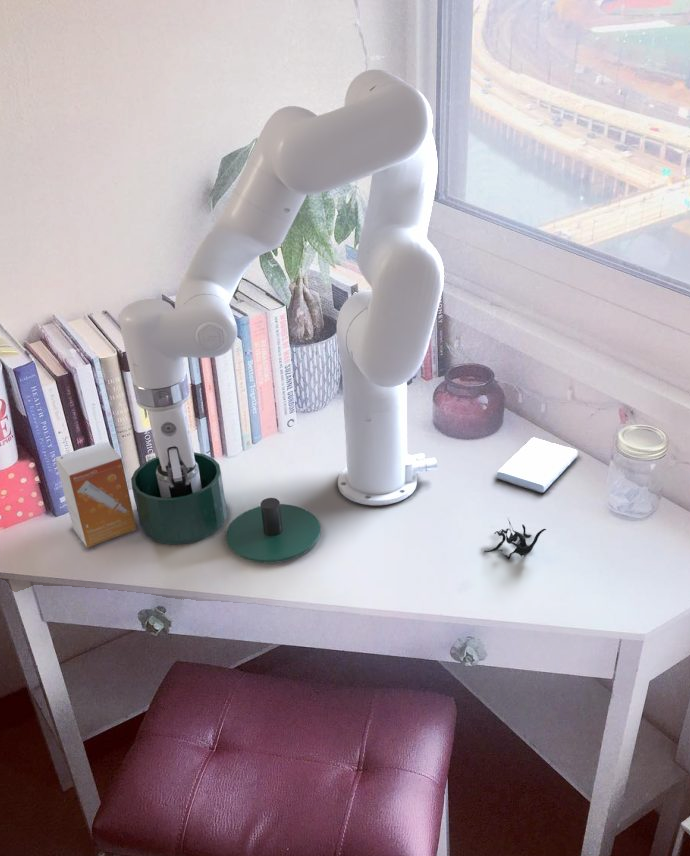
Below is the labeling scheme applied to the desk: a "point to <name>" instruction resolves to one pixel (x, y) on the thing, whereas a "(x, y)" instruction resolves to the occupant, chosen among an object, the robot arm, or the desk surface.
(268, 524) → the lid
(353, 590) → the desk surface
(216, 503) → the pot
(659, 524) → the desk surface
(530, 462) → the hard drive
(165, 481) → the camera lens
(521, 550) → the creature
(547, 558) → the desk surface
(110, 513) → the small box
